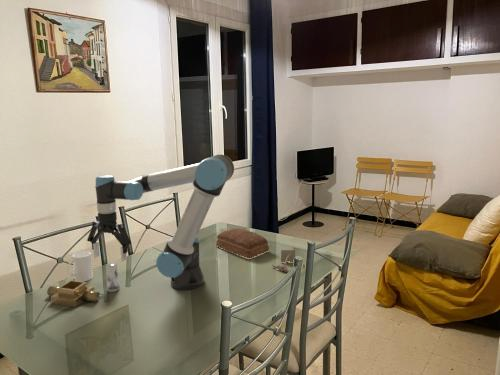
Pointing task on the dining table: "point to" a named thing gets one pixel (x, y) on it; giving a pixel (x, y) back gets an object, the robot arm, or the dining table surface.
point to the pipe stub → (112, 277)
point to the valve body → (72, 293)
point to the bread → (242, 242)
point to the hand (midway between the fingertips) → (110, 258)
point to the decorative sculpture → (286, 258)
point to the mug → (81, 266)
